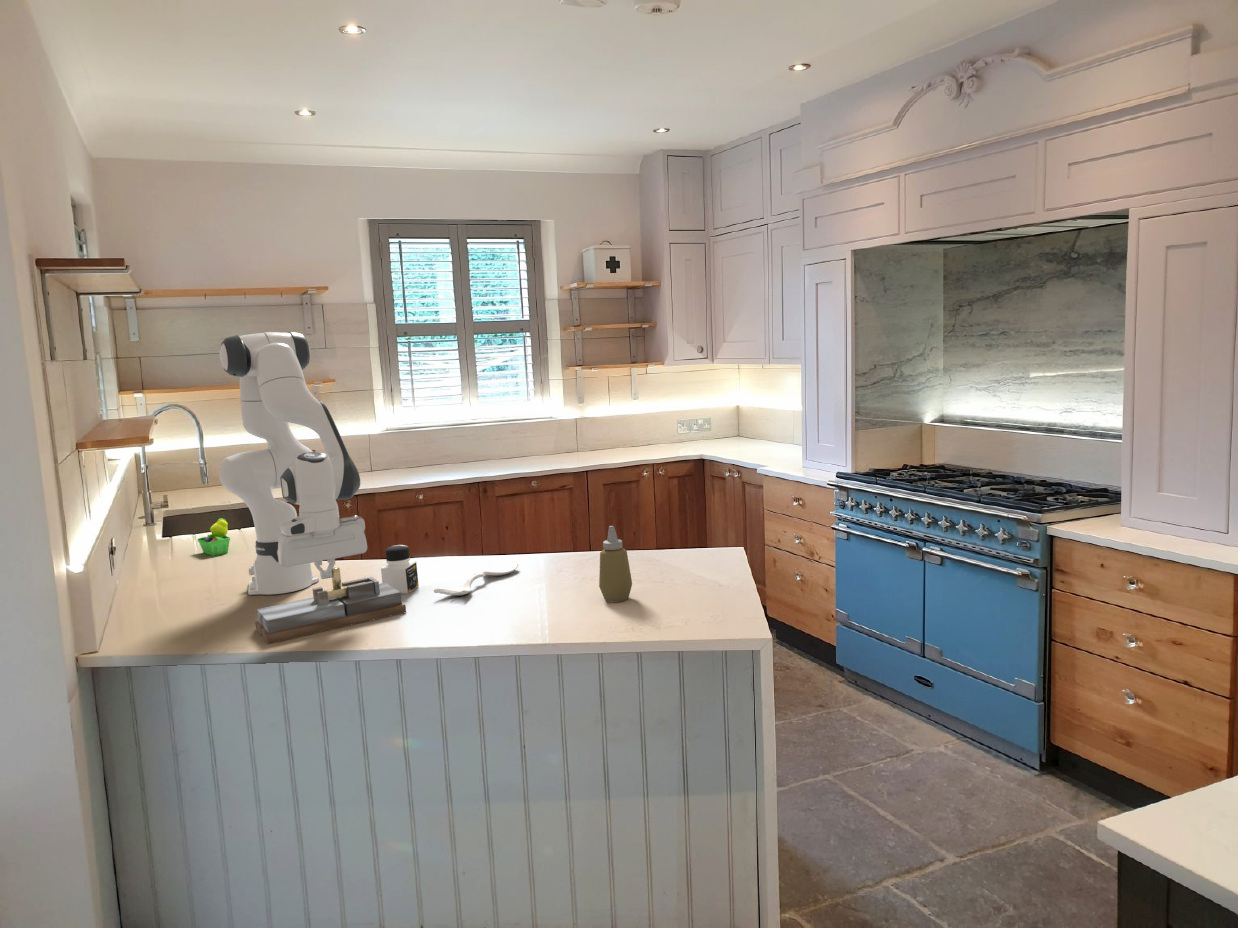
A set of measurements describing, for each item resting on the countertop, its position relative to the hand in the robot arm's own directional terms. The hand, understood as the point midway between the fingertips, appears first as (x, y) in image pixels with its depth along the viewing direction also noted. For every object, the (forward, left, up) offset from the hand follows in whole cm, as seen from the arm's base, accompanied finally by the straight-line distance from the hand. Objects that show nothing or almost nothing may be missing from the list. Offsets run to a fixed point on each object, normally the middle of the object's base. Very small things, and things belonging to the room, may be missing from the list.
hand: (326, 577), depth 214 cm
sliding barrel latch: (0, 0, -11) cm, 11 cm away
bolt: (0, +4, -5) cm, 7 cm away
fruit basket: (-111, -9, -11) cm, 112 cm away
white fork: (-3, +41, -11) cm, 42 cm away
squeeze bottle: (+35, +59, -11) cm, 70 cm away
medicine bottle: (-14, +22, -11) cm, 28 cm away
